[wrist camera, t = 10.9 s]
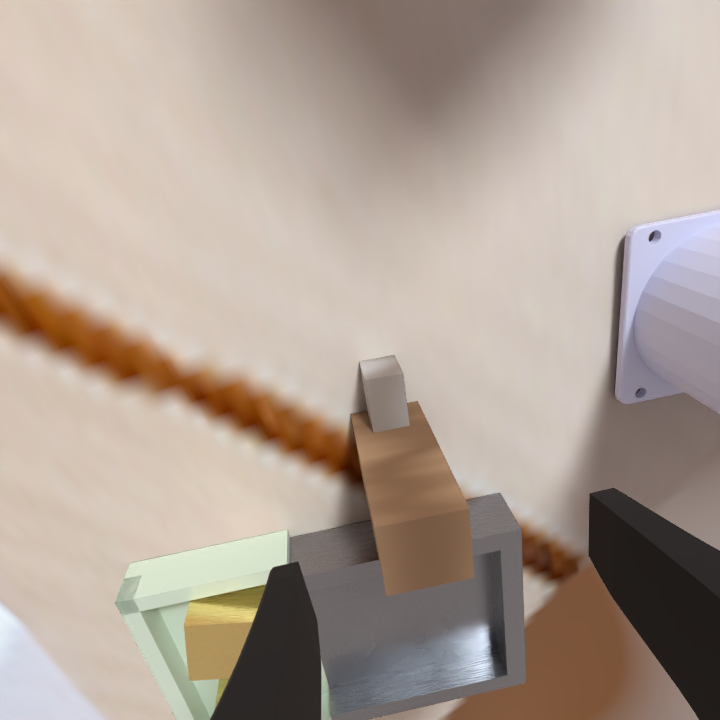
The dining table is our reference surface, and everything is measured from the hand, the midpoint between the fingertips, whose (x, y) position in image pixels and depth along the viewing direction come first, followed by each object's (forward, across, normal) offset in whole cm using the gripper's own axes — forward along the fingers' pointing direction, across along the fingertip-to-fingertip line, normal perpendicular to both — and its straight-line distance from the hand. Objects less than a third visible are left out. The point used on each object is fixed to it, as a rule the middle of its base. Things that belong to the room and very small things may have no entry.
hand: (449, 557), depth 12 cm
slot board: (+10, +1, +13) cm, 16 cm away
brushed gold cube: (+9, +9, +10) cm, 16 cm away
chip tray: (+10, +10, +13) cm, 19 cm away
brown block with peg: (+10, 0, +3) cm, 10 cm away
